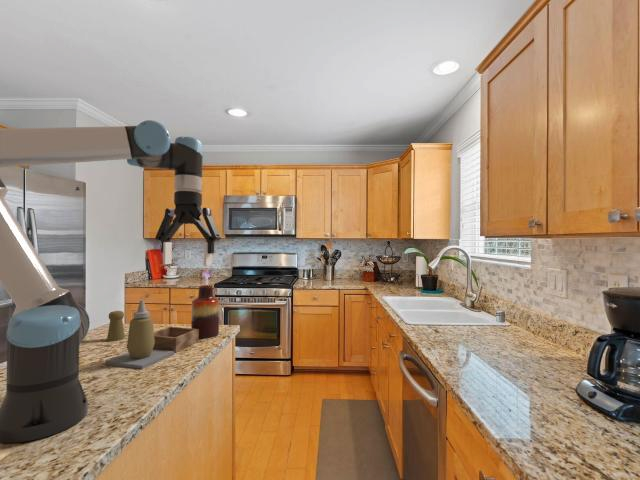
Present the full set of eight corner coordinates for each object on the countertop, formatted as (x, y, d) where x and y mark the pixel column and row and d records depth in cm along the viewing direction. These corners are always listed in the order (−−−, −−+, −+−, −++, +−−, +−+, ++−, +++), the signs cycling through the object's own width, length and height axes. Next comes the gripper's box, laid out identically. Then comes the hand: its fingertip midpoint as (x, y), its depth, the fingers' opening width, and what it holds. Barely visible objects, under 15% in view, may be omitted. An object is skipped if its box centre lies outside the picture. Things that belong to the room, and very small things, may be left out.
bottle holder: (175, 352, 114) (176, 338, 114) (144, 349, 117) (144, 335, 117) (198, 342, 126) (198, 329, 126) (169, 339, 130) (170, 326, 130)
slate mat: (142, 369, 99) (142, 365, 99) (105, 364, 102) (105, 361, 102) (174, 354, 112) (174, 351, 112) (140, 350, 116) (140, 347, 116)
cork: (110, 337, 132) (111, 309, 132) (127, 336, 133) (127, 309, 133) (103, 341, 126) (104, 312, 126) (121, 341, 127) (121, 312, 127)
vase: (186, 338, 131) (187, 287, 132) (197, 331, 142) (198, 284, 142) (213, 339, 131) (214, 287, 131) (222, 331, 142) (222, 284, 142)
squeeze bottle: (143, 361, 102) (144, 303, 103) (120, 359, 104) (121, 302, 104) (160, 353, 110) (160, 299, 111) (138, 351, 112) (139, 298, 112)
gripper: (233, 192, 96) (232, 264, 96) (161, 195, 103) (160, 263, 102) (219, 188, 89) (218, 266, 89) (142, 191, 95) (141, 264, 95)
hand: (187, 264), depth 95 cm, fingers open, 13 cm apart
